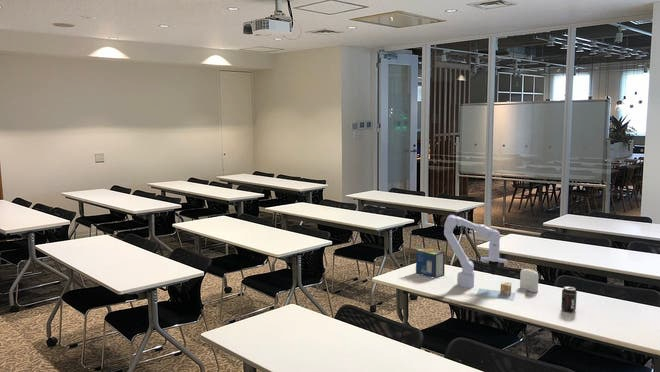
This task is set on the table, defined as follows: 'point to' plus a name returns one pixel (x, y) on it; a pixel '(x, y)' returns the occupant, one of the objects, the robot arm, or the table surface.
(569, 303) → the beverage can
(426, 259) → the protein box
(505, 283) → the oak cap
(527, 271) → the photo printer
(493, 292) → the light blue flat board
